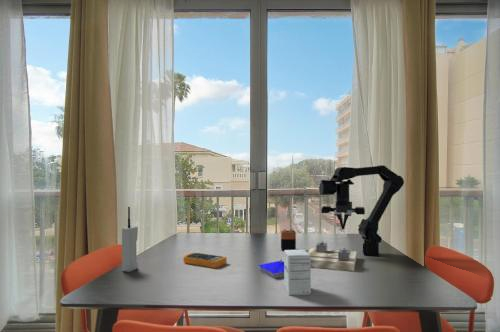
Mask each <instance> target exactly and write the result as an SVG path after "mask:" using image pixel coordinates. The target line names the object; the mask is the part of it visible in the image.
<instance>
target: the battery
mask: <svg viewBox="0 0 500 332" xmlns="http://www.w3.org/2000/svg"><path fill="white" fill-rule="evenodd" d="M296 233H297V232H296V231H295V230H294V228H293V229H292V228H289V230H287V229H282V230H280V249H281V251H282V252H284V250H297V248H296V247H297V241H296V240H297V239H296V238H297V237H296V236H297V234H296Z"/></svg>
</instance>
